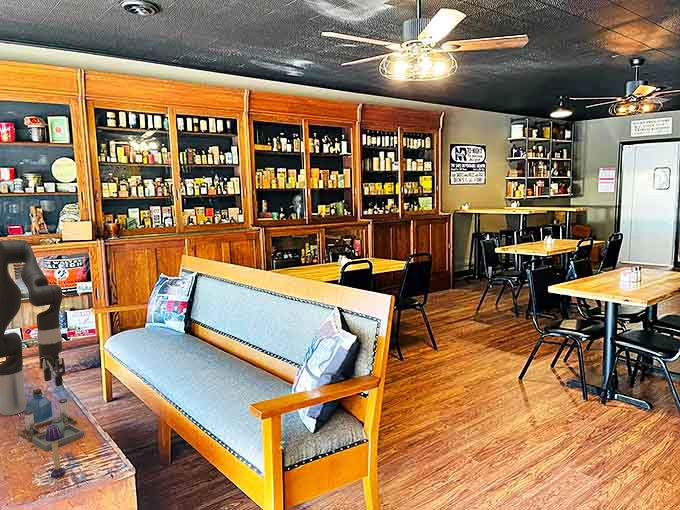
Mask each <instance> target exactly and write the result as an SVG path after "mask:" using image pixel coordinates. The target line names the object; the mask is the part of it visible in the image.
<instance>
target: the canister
mask: <svg viewBox="0 0 680 510" xmlns="http://www.w3.org/2000/svg"><path fill="white" fill-rule="evenodd" d="M58 403H59V404H58V405H59V413H60V414H59V417H61V418H62V419H63V423H64V424H66V423H69V422H70V421H69V417H70V416H69V408H68V407H69V406H68V399H67V398H61V399H60V398H59V400H58Z"/></svg>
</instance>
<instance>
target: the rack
mask: <svg viewBox="0 0 680 510" xmlns="http://www.w3.org/2000/svg"><path fill="white" fill-rule="evenodd" d="M59 417H60V416H58V417H56V418H59ZM50 424H51V425H52V419H50V420H47V421H46V420H45V421H43V422H41V423H37V424H36V425H35V424H34V426H35V435H34V436H31V437H29V436H27V435H26V434H25V433H26V428H24V429H21V430H19V431H18V430H17V433H18V436H19V437H20V436H21V437H20V438H22V437H23V438H22V439H24V438H25V439H26V440H25V439H24V440H25V441H27V440H28V441H27V442H29V443H31V442H33V440H32V438H33V437H35V436H38V435H41V434H43V433H46V431H47V430H45V431H41V430H39V428H40V429H42V428H45V427H48V426H50ZM67 424H72V425H74V426H76V425H78V419H75V418H73V417H71V416H69V423H66V424H64V423H63V426H65V425H67ZM75 424H76V425H75ZM47 425H48V426H47ZM44 426H45V427H44ZM30 441H31V442H30Z"/></svg>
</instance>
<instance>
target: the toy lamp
mask: <svg viewBox="0 0 680 510" xmlns="http://www.w3.org/2000/svg"><path fill="white" fill-rule="evenodd" d="M45 431H46V437H45V440H46V441H48V442H51V443H52V450H51V451H52V456H53V457H52V458H53V465H54V469H52V471H51V473H50V477H51V478H53V479H54V478H55V479H57V478H61V477H63V476H64V475H66V473H67V471H66V469H65V468H64V467H62V466H61V460H60V452H59V447H58V443H57V440H58V439H60V438H61V437H62V434H61V432H60V430H59V427H58V426H57V425H52V424H51V425H48V426H46V430H45Z"/></svg>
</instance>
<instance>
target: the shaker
mask: <svg viewBox="0 0 680 510" xmlns="http://www.w3.org/2000/svg"><path fill="white" fill-rule="evenodd" d="M58 417H59V418H57V417H55V418H52V419H51V420H52V424H51V425H57V426H58V427H59V430H60V432H61V434H62V437H61V438H60V439H62V438H64V428H63V419H62V418H61V417H60V416H58ZM58 440H59V439H58Z"/></svg>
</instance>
